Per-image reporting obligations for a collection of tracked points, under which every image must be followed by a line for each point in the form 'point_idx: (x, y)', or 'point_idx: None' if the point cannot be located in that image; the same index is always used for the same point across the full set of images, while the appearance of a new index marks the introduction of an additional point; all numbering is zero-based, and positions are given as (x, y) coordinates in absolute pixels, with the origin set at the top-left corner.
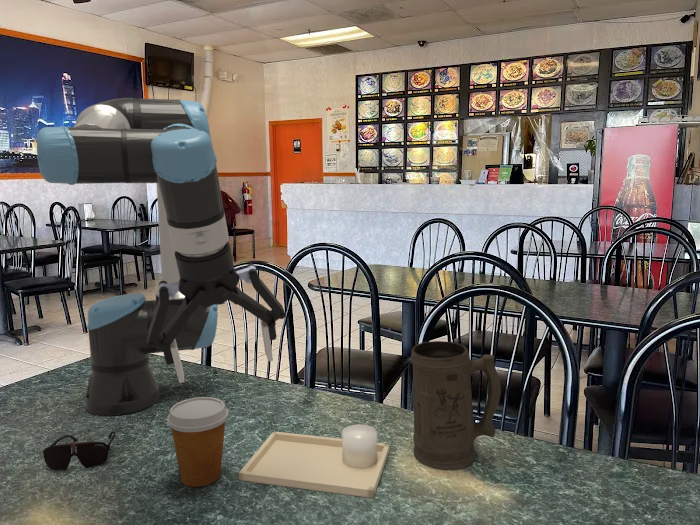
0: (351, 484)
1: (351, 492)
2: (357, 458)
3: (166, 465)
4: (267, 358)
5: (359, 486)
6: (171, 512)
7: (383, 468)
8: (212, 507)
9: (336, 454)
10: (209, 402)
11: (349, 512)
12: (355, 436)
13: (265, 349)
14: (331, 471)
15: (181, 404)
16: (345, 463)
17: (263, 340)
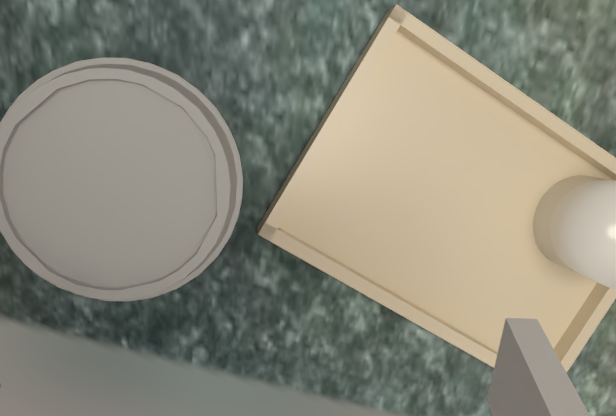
0: None
1: None
2: (571, 270)
3: (49, 61)
4: (492, 394)
5: None
6: (82, 310)
7: None
8: (183, 315)
9: (531, 177)
10: (166, 123)
11: (474, 409)
12: (610, 261)
13: (513, 394)
14: (491, 257)
15: (37, 106)
16: (536, 238)
17: (538, 399)
